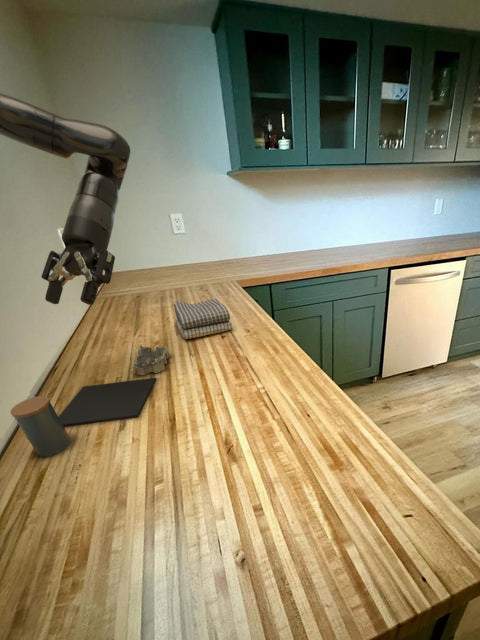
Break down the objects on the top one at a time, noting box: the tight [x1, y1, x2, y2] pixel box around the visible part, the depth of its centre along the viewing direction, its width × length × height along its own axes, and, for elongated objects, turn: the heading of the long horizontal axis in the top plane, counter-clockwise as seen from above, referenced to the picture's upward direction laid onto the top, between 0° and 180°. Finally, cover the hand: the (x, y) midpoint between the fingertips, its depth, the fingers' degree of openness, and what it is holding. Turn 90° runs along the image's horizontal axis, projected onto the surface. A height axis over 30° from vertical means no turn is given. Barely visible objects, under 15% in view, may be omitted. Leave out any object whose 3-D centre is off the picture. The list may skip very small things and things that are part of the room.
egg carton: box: [132, 345, 170, 376], centre depth 87 cm, size 11×8×4 cm
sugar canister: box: [10, 395, 72, 458], centre depth 60 cm, size 6×6×10 cm
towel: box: [173, 298, 232, 340], centre depth 106 cm, size 15×18×8 cm
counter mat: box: [58, 377, 157, 428], centre depth 74 cm, size 17×15×1 cm
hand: (68, 302), depth 63 cm, fingers open, 8 cm apart
